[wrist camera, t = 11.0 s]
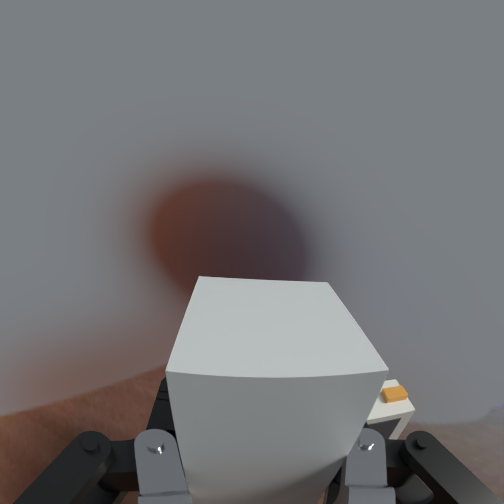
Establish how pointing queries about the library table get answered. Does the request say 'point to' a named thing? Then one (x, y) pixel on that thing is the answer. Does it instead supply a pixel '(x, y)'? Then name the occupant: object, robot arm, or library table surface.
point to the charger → (268, 390)
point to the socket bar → (390, 410)
